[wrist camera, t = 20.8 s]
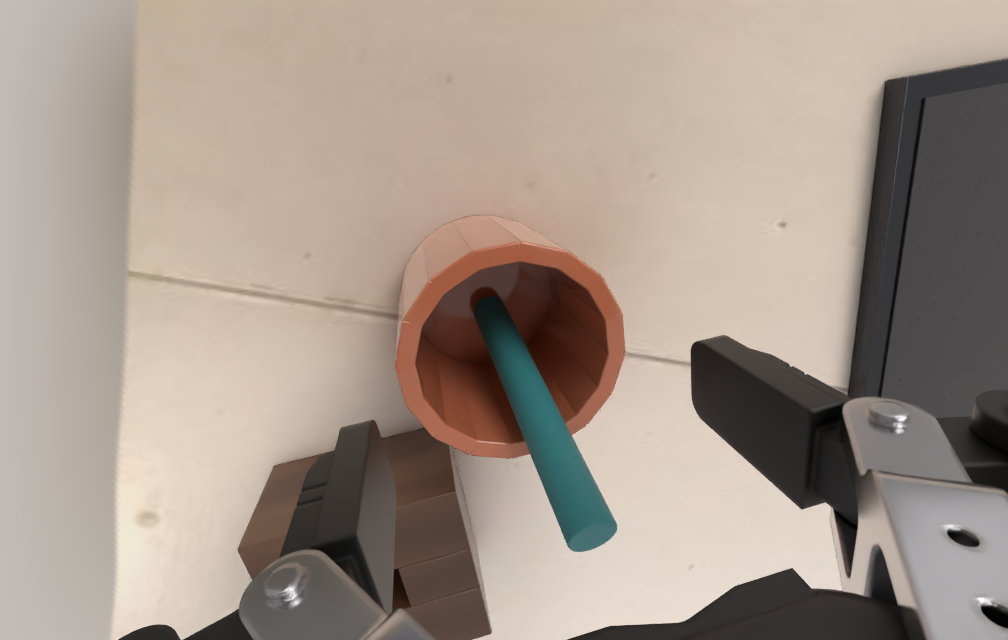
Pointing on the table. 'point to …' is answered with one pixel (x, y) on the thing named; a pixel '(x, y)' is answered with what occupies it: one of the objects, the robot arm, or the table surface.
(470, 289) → the pen cup
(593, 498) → the stylus
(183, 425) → the table surface
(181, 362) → the table surface
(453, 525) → the pen stand
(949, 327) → the tablet
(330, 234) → the table surface
